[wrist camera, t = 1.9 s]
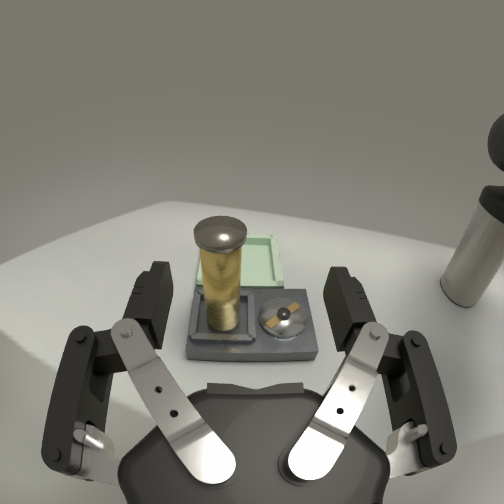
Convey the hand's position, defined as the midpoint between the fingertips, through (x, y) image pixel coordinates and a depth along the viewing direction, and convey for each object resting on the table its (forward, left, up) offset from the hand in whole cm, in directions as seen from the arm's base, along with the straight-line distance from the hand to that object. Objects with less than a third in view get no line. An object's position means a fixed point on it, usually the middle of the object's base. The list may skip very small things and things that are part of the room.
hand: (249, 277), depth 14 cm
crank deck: (-1, -11, -20) cm, 22 cm away
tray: (0, -22, -20) cm, 30 cm away
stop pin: (+2, -11, -18) cm, 21 cm away
